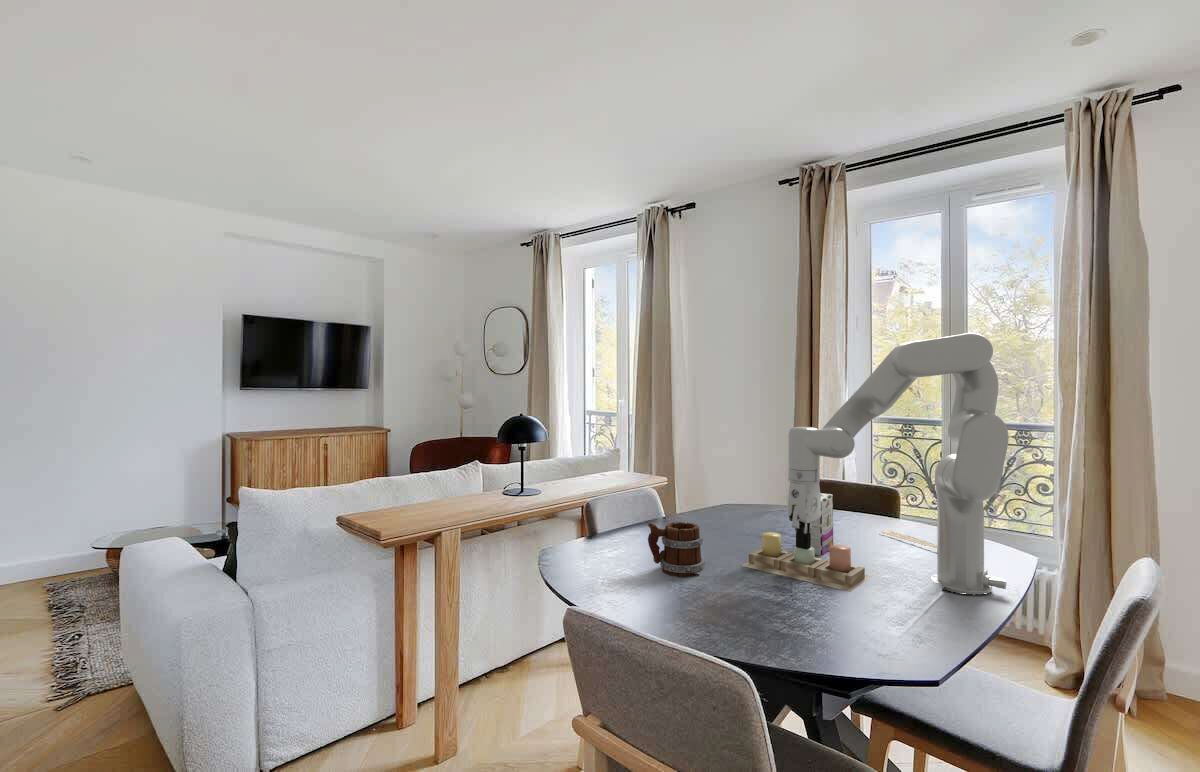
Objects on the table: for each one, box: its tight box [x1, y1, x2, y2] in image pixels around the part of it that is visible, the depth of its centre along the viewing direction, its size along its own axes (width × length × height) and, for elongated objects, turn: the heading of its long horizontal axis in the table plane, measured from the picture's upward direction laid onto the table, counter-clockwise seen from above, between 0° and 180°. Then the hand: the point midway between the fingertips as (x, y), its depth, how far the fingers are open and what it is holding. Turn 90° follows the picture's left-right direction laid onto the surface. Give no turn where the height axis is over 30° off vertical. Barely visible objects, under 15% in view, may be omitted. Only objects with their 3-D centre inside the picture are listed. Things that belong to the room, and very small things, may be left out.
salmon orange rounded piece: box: [828, 544, 852, 571], centre depth 144 cm, size 5×5×5 cm
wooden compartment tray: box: [741, 547, 872, 592], centre depth 150 cm, size 28×14×4 cm, turn 47°
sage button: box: [793, 545, 815, 565], centre depth 150 cm, size 5×5×5 cm
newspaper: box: [880, 529, 937, 548], centre depth 179 cm, size 24×7×2 cm, turn 17°
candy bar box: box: [809, 492, 834, 556], centre depth 169 cm, size 11×5×16 cm, turn 143°
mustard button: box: [761, 531, 782, 556], centre depth 156 cm, size 5×5×5 cm
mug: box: [647, 521, 706, 578], centre depth 154 cm, size 12×14×15 cm
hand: (803, 547), depth 150 cm, fingers closed
